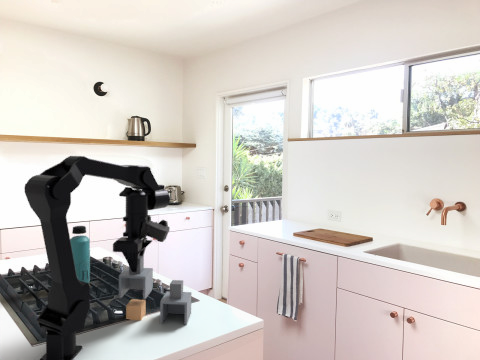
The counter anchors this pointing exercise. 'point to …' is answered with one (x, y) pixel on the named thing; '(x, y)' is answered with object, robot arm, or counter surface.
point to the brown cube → (135, 309)
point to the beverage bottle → (81, 253)
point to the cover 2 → (176, 301)
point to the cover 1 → (136, 279)
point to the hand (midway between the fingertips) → (136, 269)
